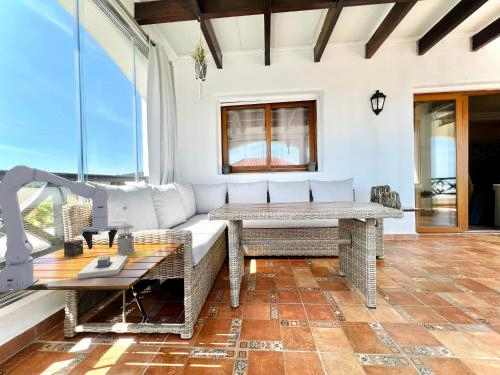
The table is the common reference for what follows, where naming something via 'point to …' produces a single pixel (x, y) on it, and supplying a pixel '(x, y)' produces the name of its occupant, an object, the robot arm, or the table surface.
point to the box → (73, 247)
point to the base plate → (94, 271)
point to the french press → (125, 240)
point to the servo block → (104, 262)
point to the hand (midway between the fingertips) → (100, 248)
